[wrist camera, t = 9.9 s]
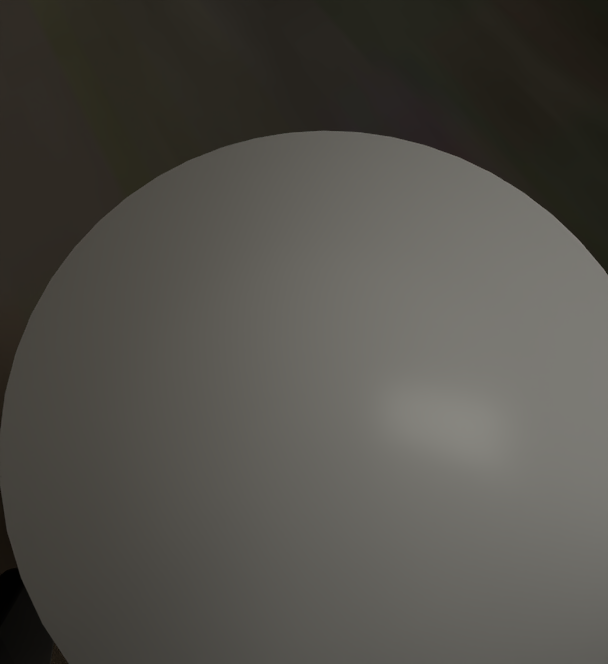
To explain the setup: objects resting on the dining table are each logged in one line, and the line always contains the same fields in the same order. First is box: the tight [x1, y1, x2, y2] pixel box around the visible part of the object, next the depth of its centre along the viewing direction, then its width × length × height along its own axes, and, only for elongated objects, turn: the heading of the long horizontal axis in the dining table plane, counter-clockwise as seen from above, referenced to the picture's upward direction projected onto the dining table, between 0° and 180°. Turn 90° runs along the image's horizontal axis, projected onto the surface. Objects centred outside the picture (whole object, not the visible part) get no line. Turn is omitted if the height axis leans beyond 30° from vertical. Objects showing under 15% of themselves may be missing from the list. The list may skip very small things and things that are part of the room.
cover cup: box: [0, 131, 608, 664], centre depth 11 cm, size 7×7×12 cm
